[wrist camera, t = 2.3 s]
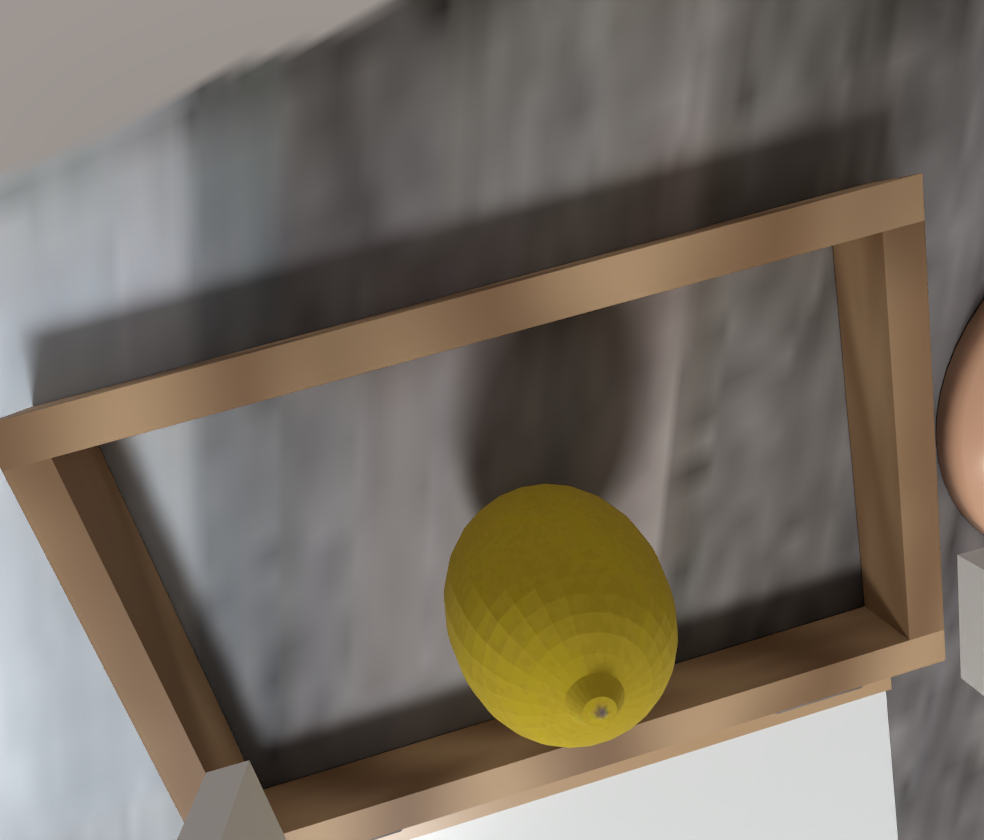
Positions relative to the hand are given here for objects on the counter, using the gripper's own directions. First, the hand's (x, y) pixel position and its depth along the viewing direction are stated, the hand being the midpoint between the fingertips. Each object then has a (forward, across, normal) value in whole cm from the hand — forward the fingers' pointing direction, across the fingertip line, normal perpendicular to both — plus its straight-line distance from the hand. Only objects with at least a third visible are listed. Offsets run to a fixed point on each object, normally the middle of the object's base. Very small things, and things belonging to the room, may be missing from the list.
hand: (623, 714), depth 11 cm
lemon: (+9, 0, 0) cm, 9 cm away
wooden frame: (+8, 0, 0) cm, 8 cm away
